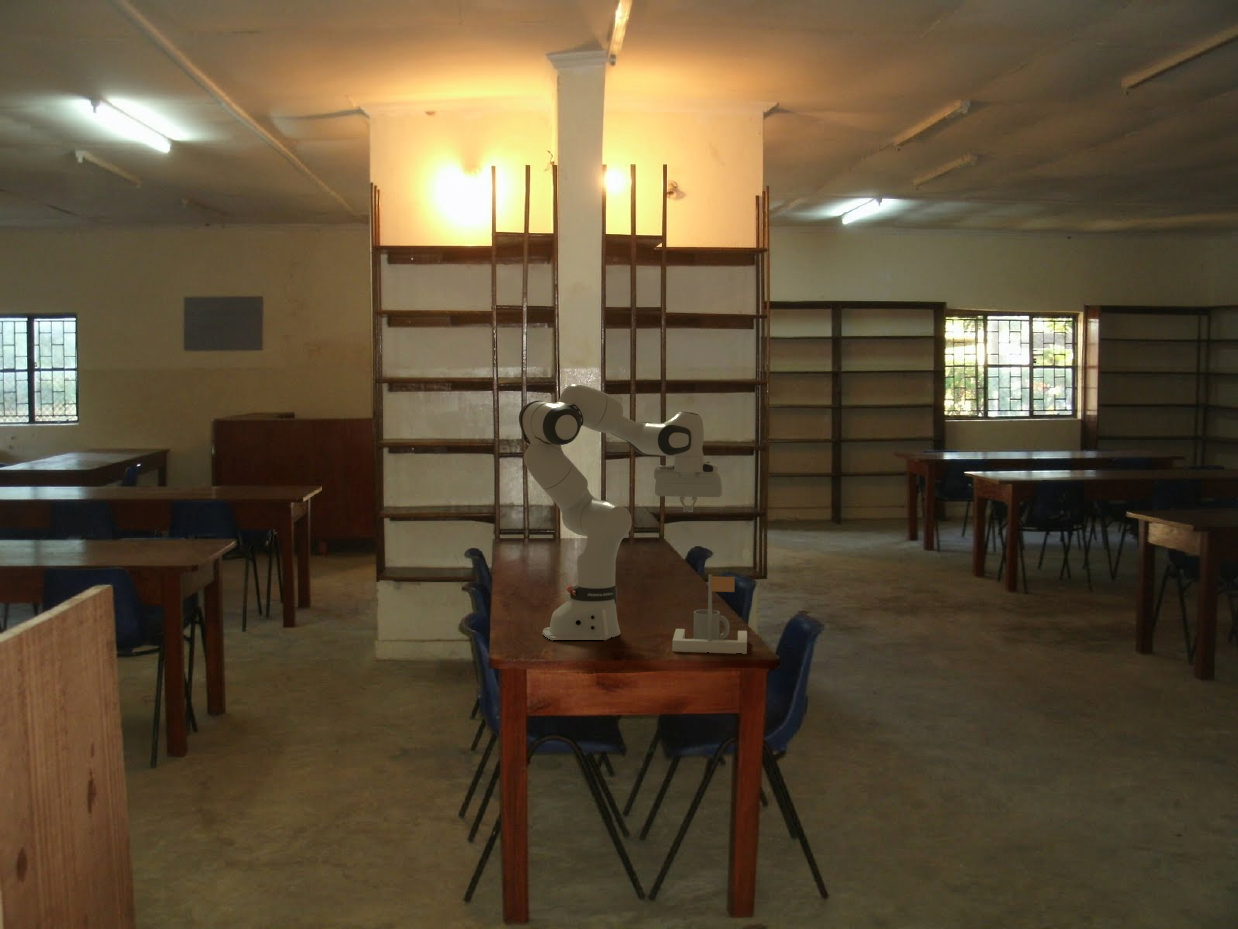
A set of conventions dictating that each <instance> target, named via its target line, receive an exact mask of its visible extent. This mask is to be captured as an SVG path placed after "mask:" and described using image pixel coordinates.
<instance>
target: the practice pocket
mask: <svg viewBox="0 0 1238 929" xmlns="http://www.w3.org/2000/svg"><path fill="white" fill-rule="evenodd" d="M735 578H736V577H735V576H713V574H708V579H707V580H708V582H707V583H708V585H707V586H708V591H707V592H708V594H707V596H708V597H707V604H708V606H707V610H708V639H694V638H685V637H686V629H685V628H675V631H674V633H673V638H672V642H671V644H672V645H671V646H672V648H671V650H672V652H681V653H705V654H706V653H707V652H709V653H710V654H712V653H713V654H736V653H742V655H743V654H744V655H746V654H747V653H748V652H747V650H748V649H747V648H748V647H747V646H748V631H747V630H738V631H737V639H736V640H735V639H733V640H732V639H720V640H712V610H713V592H720V593H723V592H725V593H726V592H727V593H735ZM707 654H708V653H707Z"/></svg>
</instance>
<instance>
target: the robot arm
mask: <svg viewBox="0 0 1238 929" xmlns="http://www.w3.org/2000/svg"><path fill="white" fill-rule="evenodd" d="M623 407H624V406H623V405H622V403H621V401H619V400H618V399H616V397H614V396H612V395H610V394H608V393H607V392H604V391H601V390H600V389H596V388H594V387H590V386H586V385H583V384H577V383H574V384H570V385H568V386H566V388H564V389H563V390H562V392H561V394H560V397H559V399H558V401H556V402H552V401H551V402H550V401H544V400H534V401H530V402H528V403H526V404H525V405H524V406H523V407H522V408H520V411H519V414H518V423H519V427H520V429H521V431H522V435H523V436H522V437H523V439H524V442H526V444H529V446H528V448H527V449H526V450H525V452H524V455H523V461H524V464H525V465H524V466H525V467H526V469H527V470H528V471H529V474H530V475H531V476H532V478H533V479H534V480H535V482H536V483H537V485H539V486H540V488H542V489H543V491H544V492H545V493H546V494H547V495H548V496H549V497H550V499H551V500H552V501H553V502H554V503H555V505H556V506H557V507H558V509H559V510H560V512H561V520H562V524H563V525H564V527H565V528H566V529H568V530H569V531H571V532H572V533H574V534H576V535H577V536H581V537H582V536H584V537H586V539H587V540H586V543H585V544H586V545H585V546H584V549H583V552H582V553H580V554H579V556H578V557H577V560H576V575H577V576H576V584H575V585H574V586H573V585H570V584H569V585H567V586H566V588H565V589H566V592H568V593H569V596H570V597H569V599H568V600H566V601H565V602H563V604H561V605H560V606H559V607H558V608H556V609H555V610H554V611H553V612H552V615H551V618H550V625H549V626H548V627H544V628H543V629H542V636H543V635H544V636H545V637H547V638H548V639H547V638H546V639H547V640H549V639H550V641H553V640H604V641H607V640H609V639H611V637H612V638H615V637H618V636H620V635H621V630H620V629H621V628H620V626H619V622H618V615H617V614H618V613H617V603H618V602H617V601H618V589H617V588H618V586H617V585H616V562H617V555H618V552H619V549H620V546H621V543H622V540H623V539H624V538H625V537H626V536H627V535H628V534H629V533H630V531H631V528H632V523H633V521H632V515H631V512H630V511H629V510H628V509H627V508H626V507H624V506H622V505H621V504H618V503H616V502H615V501H608V500H602V499H598V498H597V497H595V496H593V495H592V494H591V492H590V490H589V483H588V479H587V477H585V476H584V474H583V473H582V472H581V470H579V468H578V467H576V466H575V464H574V463H573V462H572V461H571V459H569V457H568V456H567V455H566V454H565V452H564V451H563V449H562V447H561V446H563V445H568V444H570V443H572V442H574V441H575V439H576V438H577V436H579V433H580V431H581V427H582V426H583V427H584V428H587V429H590V430H593V431H595V432H598V433H603V434H611V435H613V436H615V437H617V438H618V439H622V440H624V441H625V442H626V443H628V444H629V445H630V446H631V447H632V448H633V449H634V450H635V451H636V452H637V453H639V455H642V456H664V457H665V456H666V457H670V456H671V457H672V456H673V463H674V464H673V465H659V466H657V467H655V469H654V471H653V477H654V479H655V485H654V494H655V495H656V497H673V498H674V497H678V498H679V502H680V503H681V505H682V508H683V510H682V511H683V512H684V513H685V512H686V513H687V512H688V513H693V512H694V505H695V504H696V503H697V501H698V498H720V497H722V495H723V486H722V478H721V475H720V474H719V473H718V472H719V466H718V465H717V464H716V463H712V462H710V461H708V460H704V458H705V457H704V451H703V445H704V441H705V439H704V437H705V436H704V435H705V434H704V423H703V419H702V418H703V417H702V416H701V415H699V414H698V413H695V412H688V411H678V412H676V414H675V416H674V417H671V419H669V420H667V421H664V422H651V421H639V422H637V421H634V420H632V419H630V418H629V417H626V416H624V408H623ZM686 497H687V498H691V501H693V502H692V503H691V505H686V502H684V501H685V500H686ZM544 636H543V637H544ZM545 637H544V638H545Z"/></svg>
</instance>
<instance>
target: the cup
mask: <svg viewBox="0 0 1238 929" xmlns="http://www.w3.org/2000/svg"><path fill="white" fill-rule="evenodd" d="M720 614H721V612H720V611H719V610H715V609H712V640H725V638H727V637H728V635H729V634H730V621H729V620H728V618H727V617H726V616H724V615H720ZM720 622H722V624H723V631H722V633H720V630H721V628H720V626H721V625H720ZM693 639H708V609H696V610H694V611H693Z"/></svg>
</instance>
